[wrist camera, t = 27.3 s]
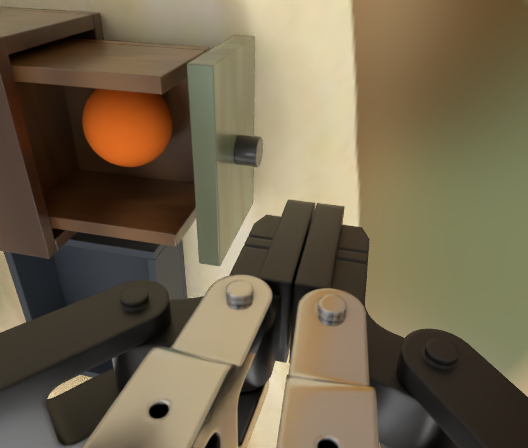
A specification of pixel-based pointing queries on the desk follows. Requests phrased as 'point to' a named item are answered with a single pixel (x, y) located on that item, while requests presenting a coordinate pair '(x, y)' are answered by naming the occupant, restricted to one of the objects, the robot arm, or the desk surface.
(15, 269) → the box
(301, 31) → the desk surface
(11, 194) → the cabinet
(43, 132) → the drawer
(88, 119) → the ball
